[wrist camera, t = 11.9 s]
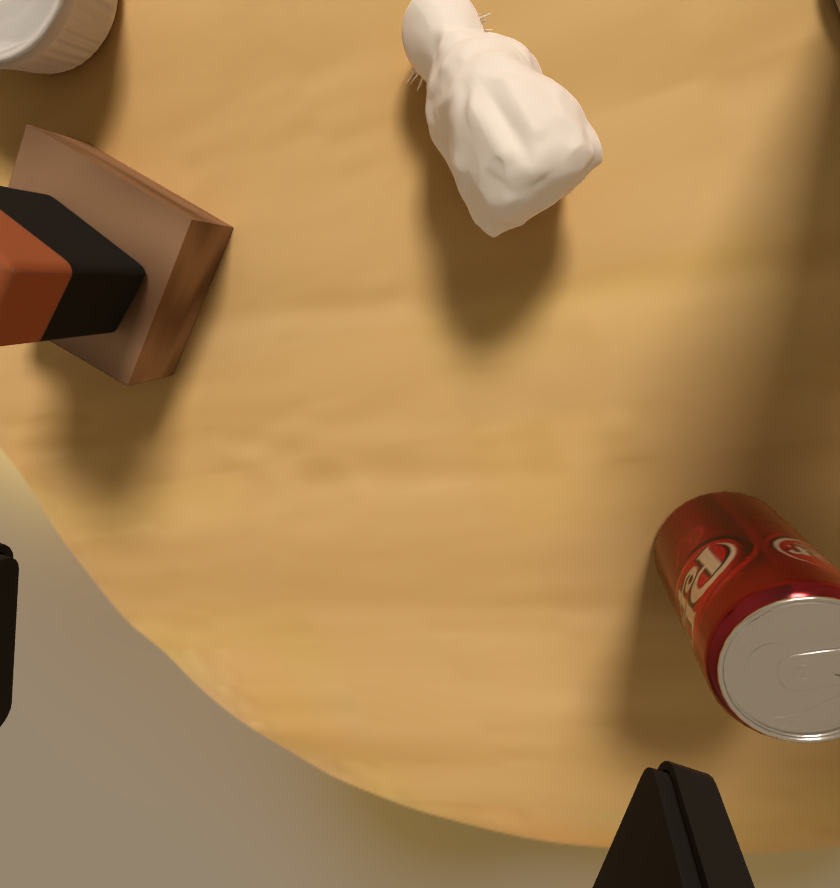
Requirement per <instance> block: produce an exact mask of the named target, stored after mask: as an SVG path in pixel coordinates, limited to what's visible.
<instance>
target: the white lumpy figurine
mask: <svg viewBox="0 0 840 888" xmlns="http://www.w3.org/2000/svg"><path fill="white" fill-rule="evenodd" d="M490 14H491V13H489V14H487V15H490ZM479 15H480V14H478V13H477V11H476V9H475V8H474V6H473V4H472V3H471V2H470V0H412V1H411V2H410V4H409V6H408V7H407V9H406V12H405V15H404V19H403V24H402V41H403V46H404V49H405V52H406V55H407V57H408V59H409V61H410V63H411V65H412V66H413V68H412V69H411V71H413V70H414V69H415V71H414V72H413V73H412V74H411V75H410V77H409V79H408V80H407V82H408V81H409V80H410V78H411V77H412V76H413V75H414V74H415V73H416V75H415V77H414V78H413V80H412V81H411V83H412V82H413V81H414V80H415V78H417V76H419V75H420V76H421V77H422V78H421V80H420V82H419V85H418V89H419V87H420V86H421V85H422V84H421V83H422V81H423V80H425V81H426V90H427V96H426V105H425V114H426V120H427V124H428V127H429V134H430V137H431V139H432V141H433V143H434V145H435V146H436V148H437V149H438V150H439V152H440V153H441V154H442V156H443V157H444V159H445V161H446V162H447V164H448V166H449V168H450V170H451V172H452V174H453V176H454V178H455V182H456V185H457V188H458V191H459V193H460V195H461V197H462V199H463V201H464V202H465V204H466V206H467V208H468V210H469V213H470V215H471V217H472V219H473V221H474V223H475V224H477V225H478V226H479V227H480V228H481V229H482V230H483V231H484V232H485V233H486V234H488V235H489V236H491V237H492V238H495V237H497V236H498V235H500V234H501V233H503V232H505V231H507V230H510V229H513V228H515V227H519V226H522V225H523V224H525V222H526V221H528V220H529V219H530V218H532V217H533V216H535V215H537V214H538V213H540V212H542V211H544V210H545V209H547V208H549V207H551V206H552V205H554V204H555V203H556V202H558V201H559V200H560V199H561V198H562V197H563V196H566V195H568V194H569V193H570V192H571V191H572V190H573V189H574V188H575V187H576V186H577V185H579V184H580V183H581V182H582V181H583V180H584V178H585V177H586V176H587V175H588V174H589V173H590V172H591V171H592V170H593V169H594V168H595V167H597V166H598V165H599V164H600V163H601V162H602V147H601V144H600V141H599V139H598V136H597V134H596V132H595V131H594V129H593V128H592V126H591V125H590V123H589V122H588V121H587V119H586V117H585V114H584V112H583V110H582V108H581V106H580V105H579V103H578V102H577V100H576V99H575V98H574V97H573V96H572V95H571V94H570V93H569V92H568V91H567V90H566V89H565V88H564V87H562V86H561V85H560V84H558V83H556V82H555V81H554V80H553V79H551V78H549V77H546V76H544V75H543V74H542V71H541V68H540V66H539V63H538V61H537V59H536V58H535V57H534V55H533V54H532V53H530V52H529V50H528V49H527V48H526V47H525V46H524V45H523V44H521V43H520V42H519V41H517V40H515V39H513V38H509V37H506V36H503V35H500V34H497V33H492V32H487V33H486V31H490V30H493V29H485V30H484V29H483V26H482V23H484V22H486V21H488V20H490V19H491V18H489V19H486V20H483V21H480V20H481V19H483V18H484V17H486V16H487V15H484V16H481V17H480V18H479ZM411 71H410V72H411ZM407 82H406V83H407ZM411 83H410V85H411ZM420 84H421V85H420ZM418 89H417V91H418Z"/></svg>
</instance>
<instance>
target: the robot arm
mask: <svg viewBox="0 0 840 888" xmlns="http://www.w3.org/2000/svg"><path fill="white" fill-rule="evenodd" d="M835 2H836V5H837V7H838V9H839V12H840V0H835ZM18 575H19V567H18V563H17V561H16V560H15V559H13V552H12V551H11V549H10V547H8V546H6V545H4V544H1V543H0V726H1V725H2V724H3V722H4V721H5V719H6V718H7V716H8V714H9V711H10V709H11V704H12V685H13V666H14V649H15V630H16V612H17V594H18ZM593 888H755V887H754V885H753V882H752V879H751V877H750V874H749V871H748V869H747V866H746V863H745V860H744V858H743V855H742V852H741V850H740V847H739V844H738V842H737V839H736V836H735V834H734V831H733V828H732V825H731V823H730V820H729V817H728V815H727V812H726V809H725V807H724V804H723V801H722V799H721V796H720V793H719V791H718V788H717V785H716V783H715V781H714V779H713V778H712V777H711V776H710V775H709V774H706V773H703V772H700V771H697V770H694V769H691V768H688V767H685V766H682V765H679V764H676V763H672V762H669V761H664V762H663V763H662V764H660V766H659V767H658V769H657V770H656V769H653V768H647V769H645V770H644V772H643V774H642V776H641V778H640V781H639V783H638V785H637V787H636V790H635V792H634V794H633V797H632V799H631V801H630V803H629V806H628V808H627V810H626V813H625V815H624V817H623V819H622V822H621V824H620V826H619V829H618V831H617V833H616V835H615V838H614V840H613V842H612V845H611V847H610V849H609V851H608V854H607V856H606V858H605V861H604V863H603V865H602V867H601V870H600V872H599V875H598V877H597V879H596V881H595V883H594V886H593Z"/></svg>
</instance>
